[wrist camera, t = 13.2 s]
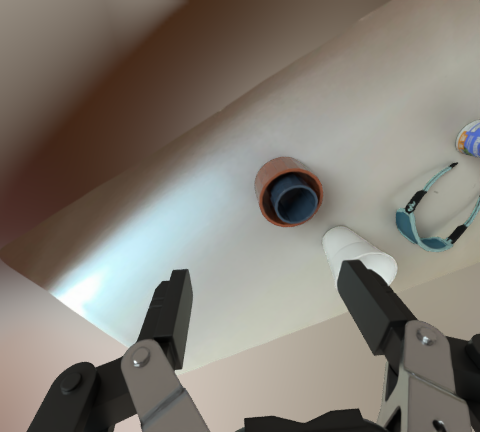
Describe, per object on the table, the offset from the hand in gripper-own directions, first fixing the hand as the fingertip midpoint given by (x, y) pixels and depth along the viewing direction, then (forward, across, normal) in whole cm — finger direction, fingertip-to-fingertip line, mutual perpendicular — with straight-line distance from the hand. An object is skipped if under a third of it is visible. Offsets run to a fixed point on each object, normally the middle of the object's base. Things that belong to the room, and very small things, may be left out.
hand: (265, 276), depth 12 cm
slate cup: (+27, -8, +6) cm, 29 cm away
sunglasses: (+28, -37, +12) cm, 48 cm away
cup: (+28, -19, +18) cm, 38 cm away
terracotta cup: (+28, -7, +6) cm, 29 cm away
